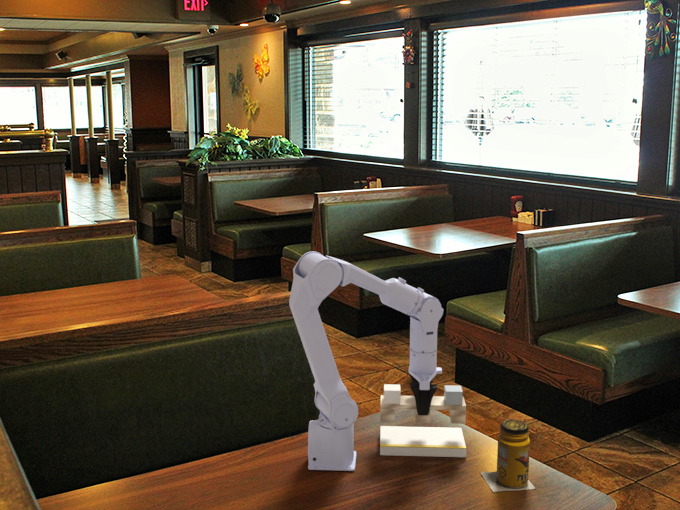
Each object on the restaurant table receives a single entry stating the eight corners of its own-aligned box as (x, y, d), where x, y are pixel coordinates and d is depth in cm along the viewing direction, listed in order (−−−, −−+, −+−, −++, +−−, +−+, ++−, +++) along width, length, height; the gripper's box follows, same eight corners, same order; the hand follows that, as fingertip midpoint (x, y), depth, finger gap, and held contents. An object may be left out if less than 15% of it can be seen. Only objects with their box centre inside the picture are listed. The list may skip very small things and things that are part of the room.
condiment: (535, 489, 134) (538, 430, 132) (493, 492, 133) (495, 433, 130) (520, 470, 141) (523, 415, 139) (480, 474, 140) (482, 417, 137)
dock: (380, 455, 148) (380, 445, 147) (380, 434, 158) (380, 425, 157) (466, 457, 147) (466, 447, 146) (461, 436, 156) (461, 427, 156)
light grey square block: (445, 404, 148) (445, 391, 147) (444, 398, 151) (444, 385, 151) (462, 405, 147) (462, 391, 147) (460, 398, 151) (460, 385, 150)
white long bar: (380, 421, 149) (380, 404, 148) (380, 412, 154) (380, 395, 153) (465, 423, 148) (466, 405, 147) (463, 414, 153) (463, 396, 152)
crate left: (384, 403, 148) (384, 390, 148) (384, 397, 152) (384, 384, 151) (400, 404, 148) (400, 390, 148) (400, 397, 152) (400, 384, 151)
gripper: (445, 360, 140) (443, 424, 143) (439, 338, 155) (438, 396, 157) (409, 360, 141) (409, 423, 144) (407, 338, 155) (407, 395, 158)
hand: (422, 409), depth 150 cm, fingers closed on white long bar, 5 cm apart
